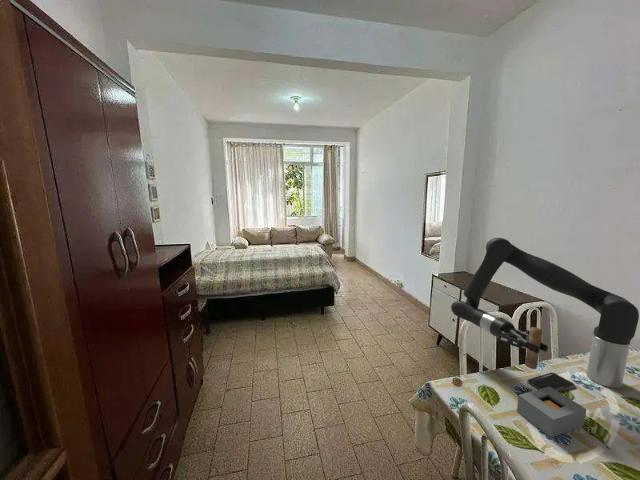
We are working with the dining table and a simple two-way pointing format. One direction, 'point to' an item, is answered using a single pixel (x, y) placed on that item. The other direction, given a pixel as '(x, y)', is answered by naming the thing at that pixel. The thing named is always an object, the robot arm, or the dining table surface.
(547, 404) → the button
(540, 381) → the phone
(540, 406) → the box
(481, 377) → the dining table surface
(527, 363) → the brown wooden rod
